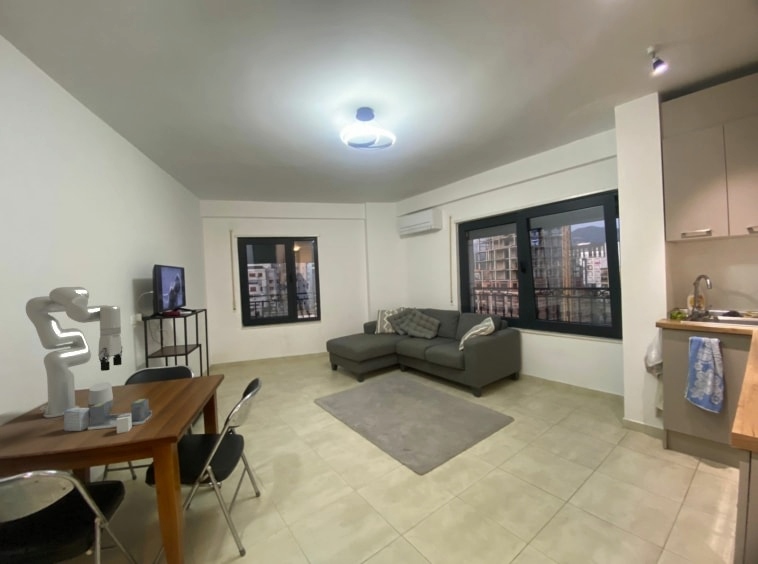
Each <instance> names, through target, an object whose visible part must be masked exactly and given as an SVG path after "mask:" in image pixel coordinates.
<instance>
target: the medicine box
mask: <svg viewBox="0 0 758 564" xmlns="http://www.w3.org/2000/svg"><path fill="white" fill-rule="evenodd" d="M63 424H64V425H63V426H64V427H63V428H64V432H81V431H84V430H86V429H88V427H89V426H91V419H90V413H89V408H88V407H79V408H72V409H69V410H67V411H65V412H64V415H63Z"/></svg>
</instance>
